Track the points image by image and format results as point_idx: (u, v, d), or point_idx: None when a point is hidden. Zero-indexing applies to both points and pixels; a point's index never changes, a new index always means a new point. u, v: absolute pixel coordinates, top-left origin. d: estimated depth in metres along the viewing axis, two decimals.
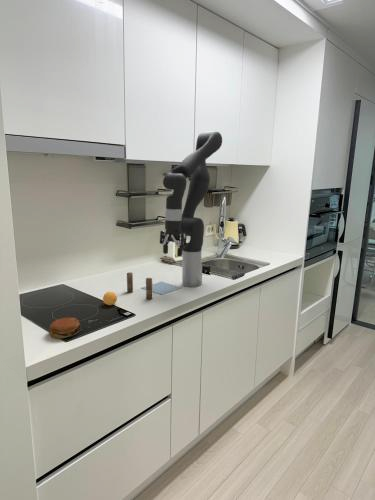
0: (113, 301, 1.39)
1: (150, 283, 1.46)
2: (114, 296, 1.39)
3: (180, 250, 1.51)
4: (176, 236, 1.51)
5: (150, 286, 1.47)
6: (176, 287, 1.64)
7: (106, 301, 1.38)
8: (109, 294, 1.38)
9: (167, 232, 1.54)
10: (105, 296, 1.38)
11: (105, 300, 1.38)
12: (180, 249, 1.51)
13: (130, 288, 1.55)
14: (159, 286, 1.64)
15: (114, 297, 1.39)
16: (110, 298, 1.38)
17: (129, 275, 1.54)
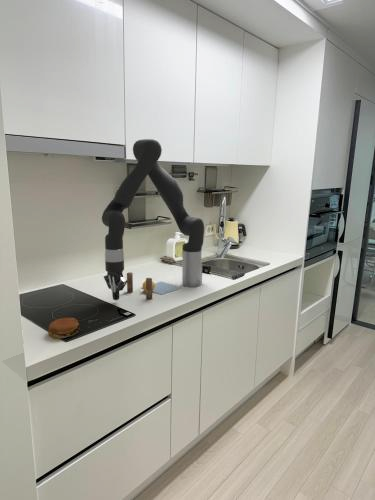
0: None
1: (150, 283, 1.46)
2: (154, 286, 1.56)
3: (116, 294, 1.41)
4: (117, 281, 1.39)
5: (150, 286, 1.47)
6: (176, 287, 1.64)
7: None
8: (153, 282, 1.57)
9: (108, 272, 1.41)
10: None
11: None
12: (116, 293, 1.41)
13: (130, 288, 1.55)
14: (159, 286, 1.64)
15: (154, 286, 1.56)
16: (152, 283, 1.56)
17: (129, 275, 1.54)
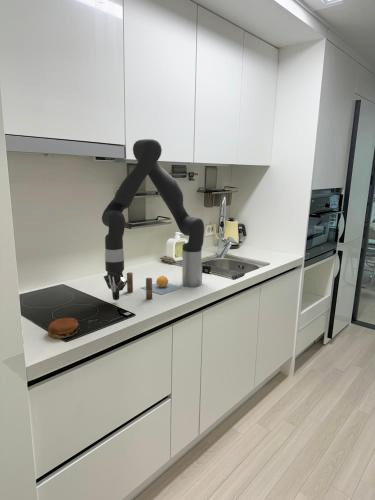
0: (167, 282, 1.63)
1: (150, 283, 1.46)
2: (164, 282, 1.61)
3: (116, 294, 1.41)
4: (117, 281, 1.39)
5: (150, 286, 1.47)
6: (176, 287, 1.64)
7: None
8: (161, 286, 1.62)
9: (108, 272, 1.41)
10: None
11: None
12: (116, 293, 1.41)
13: (130, 288, 1.55)
14: None
15: (164, 282, 1.61)
16: (164, 285, 1.62)
17: (129, 275, 1.54)
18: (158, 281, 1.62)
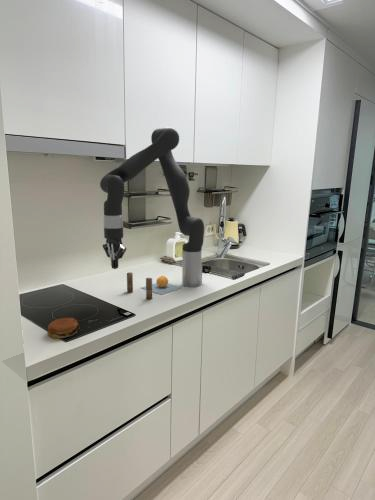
0: (167, 282, 1.63)
1: (150, 283, 1.46)
2: (164, 282, 1.61)
3: (115, 262, 1.38)
4: (116, 248, 1.36)
5: (150, 286, 1.47)
6: (176, 287, 1.64)
7: None
8: (161, 286, 1.62)
9: (107, 240, 1.39)
10: None
11: None
12: (115, 261, 1.38)
13: (130, 288, 1.55)
14: None
15: (164, 282, 1.61)
16: (164, 285, 1.62)
17: (129, 275, 1.54)
18: (158, 281, 1.62)
